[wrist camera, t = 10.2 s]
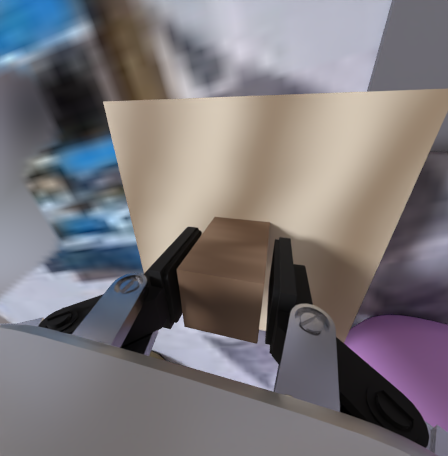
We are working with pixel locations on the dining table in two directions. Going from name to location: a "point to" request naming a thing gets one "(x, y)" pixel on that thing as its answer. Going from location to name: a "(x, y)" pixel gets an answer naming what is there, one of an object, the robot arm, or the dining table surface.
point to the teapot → (408, 359)
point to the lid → (272, 192)
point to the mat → (414, 52)
